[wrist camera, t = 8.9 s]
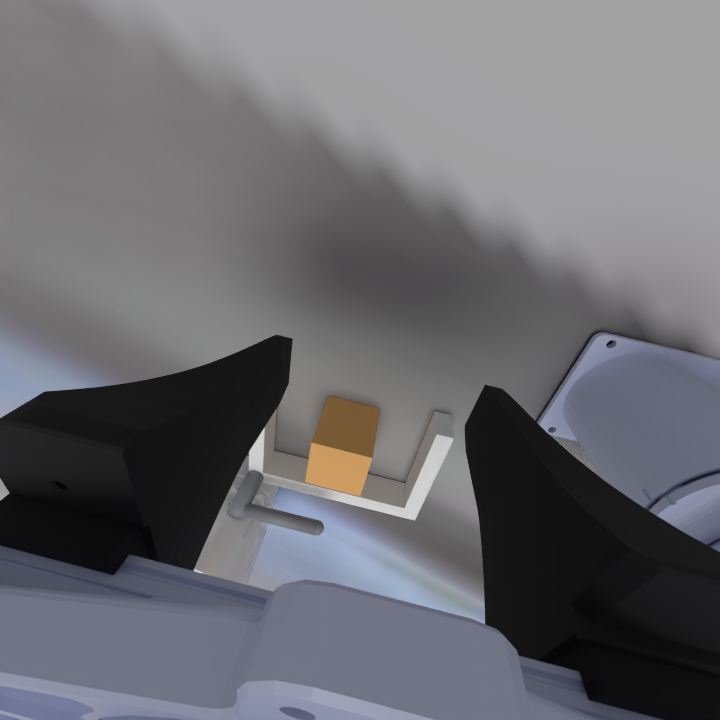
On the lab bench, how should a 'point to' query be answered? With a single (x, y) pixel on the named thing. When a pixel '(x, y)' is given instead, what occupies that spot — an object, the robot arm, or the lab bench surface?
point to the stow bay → (373, 496)
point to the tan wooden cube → (343, 446)
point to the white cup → (236, 536)
